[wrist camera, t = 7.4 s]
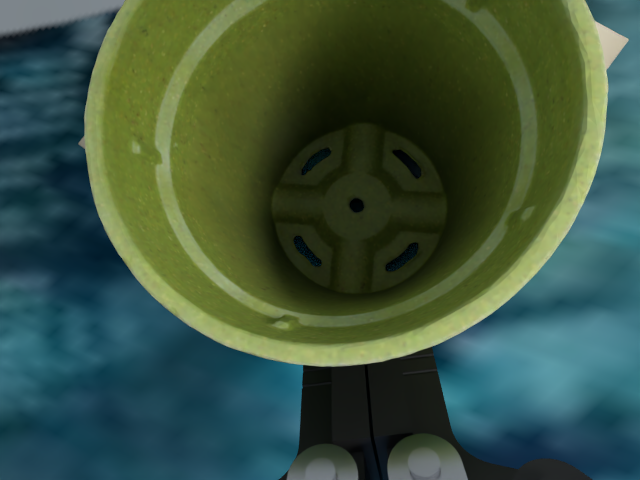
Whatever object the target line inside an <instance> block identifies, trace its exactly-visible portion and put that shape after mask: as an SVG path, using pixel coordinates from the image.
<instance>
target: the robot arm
mask: <svg viewBox="0 0 640 480" xmlns="http://www.w3.org/2000/svg"><path fill="white" fill-rule="evenodd" d="M302 385H303V388H302V401H301V421H300V441H299V450H298V454H297V457H296V459H295V460H294V461H293V463H292V465H291V466H290V469H289V470H288V471H287V473H286V474H285V475H284V476H282V477H281V478H280V479H279V480H592V479H591V478H589V477H588V476H587V475H585V474H584V473H582V472H581V471H580V470H578V469H576V468H575V467H573V466H572V465H569V464H567V463H565V462H562V461H559V460H554V459H536V460H533V461H530V462H528V463H526V464H524V465H523V466H522V467H521V468H519V470H518V469H514V468H509V467H504V466H500V465H495V464H491V463H487V462H484V461H482V460H479V459H477V458H476V457H474V456H472V455H471V454H469V453H468V452H467V451H465V450H464V449H463V448H462V447H461V446H460V444H459V443H458V442H457V440H456V439H455V437H454V435H453V432H452V429H451V426H450V422H449V417H448V413H447V409H446V405H445V401H444V396H443V392H442V388H441V384H440V380H439V375H438V372H437V367H436V363H435V359H434V355H433V350H432V347H429V348H426V349H423V350H420V351H417V352H415V353H412V354H410V355H406V356H403V357H399V358H393V359H389V360H386V361H383V362H376V363H369V364H361V365H351V366H335V367H331V366H326V367H320V366H310V365H303V381H302Z"/></svg>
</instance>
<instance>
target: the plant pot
mask: <svg viewBox="0 0 640 480" xmlns="http://www.w3.org/2000/svg"><path fill="white" fill-rule="evenodd" d="M607 93H608V79H607V73H606V67H605V60H604V54H603V49H602V45H601V41H600V37H599V33H598V30H597V27H596V24H595V21H594V18H593V16H592V14H591V12H590V10H589V8H588V6H587V4H586V1H585V0H125V1H124V4H123V6H122V7H121V9H120V10H119V12H118V13H117V15H116V17H115V19H114V21H113V23H112V25H111V26H110V28H109V29H108V31H107V34H106V36H105V38H104V40H103V43H102V45H101V48H100V50H99V53H98V56H97V60H96V63H95V66H94V69H93V72H92V76H91V81H90V85H89V90H88V98H87V102H86V107H85V116H84V122H85V153H86V158H87V165H88V173H89V180H90V185H91V190H92V194H93V198H94V202H95V205H96V209H97V212H98V215H99V217H100V219H101V221H102V224H103V226H104V229H105V231H106V233H107V235H108V237H109V239H110V241H111V242H112V244H113V246H114V247H115V249H116V251H117V253H118V254H119V256H120V257H121V258H122V259H123V261H124V262H125V263H126V265H127V266H128V268H129V269H130V271H131V272H132V274H133V275H134V276H135V277H136V279H137V280H138V281H139V282H140V284H141V285H142V286H143V287H144V288H145V289H146V290H147V291H148V292H149V293H150V294H151V295H152V296H153V297H154V298H155V299H156V300H157V301H158V302H159V303H160V304H161V305H163V306H164V307H165V308H166V309H167V310H169V311H170V312H171V313H173V314H174V315H175V316H176V317H178V318H179V319H180V320H182V321H183V322H184V323H186V324H187V325H189V326H190V327H192V328H194V329H195V330H197V331H198V332H200V333H202V334H203V335H205V336H207V337H209V338H211V339H212V340H214V341H216V342H218V343H221V344H223V345H225V346H227V347H230V348H233V349H236V350H239V351H242V352H245V353H248V354H252V355H255V356H259V357H262V358H266V359H271V360H275V361H280V362H286V363H292V364H300V365H310V366H320V367H326V366H331V367H335V366H351V365H361V364H369V363H376V362H383V361H386V360H389V359H393V358H399V357H403V356H406V355H410V354H412V353H415V352H417V351H420V350H423V349H426V348H429V347H432V346H434V345H437V344H439V343H441V342H443V341H445V340H447V339H449V338H451V337H453V336H455V335H457V334H459V333H461V332H463V331H465V330H466V329H468V328H470V327H471V326H473V325H474V324H476V323H478V322H480V321H481V320H483V319H484V318H486V317H487V316H489V315H490V314H491V313H493V312H494V311H495V310H497V309H498V308H499V307H501V306H502V305H503V304H504V303H506V302H507V301H508V300H509V299H510V298H511V297H513V296H514V295H515V294H516V293H517V292H518V291H519V290H520V289H521V288H522V287H523V286H524V285H525V284H526V283H527V282H528V281H529V280H530V279H531V278H532V277H533V276H534V275H535V274H536V273H537V272H538V271H539V270H540V269H541V267H542V266H543V265H544V264H545V263H546V261H547V260H548V259H549V258H550V257H551V256H552V254H553V253H554V251H555V250H556V248H557V247H558V246H559V244H560V243H561V241H562V240H563V239H564V237H565V236H566V234H567V233H568V231H569V229H570V228H571V226H572V224H573V222H574V221H575V219H576V217H577V214H578V212H579V210H580V208H581V206H582V205H583V203H584V200H585V197H586V195H587V193H588V191H589V189H590V186H591V184H592V181H593V178H594V176H595V173H596V169H597V165H598V162H599V159H600V155H601V150H602V145H603V139H604V133H605V124H606V110H607V101H608V100H607ZM327 148H329V149H330V150H331V154H330V155H329V156H328V157H326V158H324V159H323V160H322V161H321V162H319V163H318V164H316V165H315V166H314V167H312V169H311V170H310V171H307V172H306V174H305V175H301V174H302V169H303V167H304V165H305V164H306V162H307V161H308V160H309V159H310V158H311V157H312V156H313V155H314V154H315V153H317V152H318V151H320V150H322V149H327ZM394 150H402V151H403V152H405V153H406V154H407V155H409V156H410V157H411V158H412V159H413V160H414V161H415V162H416V163H417V164H418V166H419V167H420V168H421V176H420V177H419V178H418V179H417V178H415V177H414V175H413V174H412V173H411V172H410V170H409V169H408V168H407V166H406V165H405V164H404V163H403V162H402V161H401V160H400V159H399V158H397V157H396V156H395V155H394V154H393V153H392V152H393V151H394ZM354 198H359V199H361V200H362V201H363V203H364V209H363V210H362V211H361V212H358V213H355V212H353V211H352V209H351V208H350V202H351V201H352V200H353V199H354ZM295 236H301V237H302V239H303V241H304V242H305V243H306V245H307V246H308V248H309V249H310V250H311V251H312V252H313V254H314V255H315V256H316V257H317V258H319V259H320V260H321V261H322V263H321V266H317V267H315V266H313V265H312V264H311V263H310V261H309V260H307V258H306V257H305V256H304V255H302V254H300V253H299V252H298V250H297V248H296V246H295V244H294V238H295ZM414 242H417V243H418V251H417V254H416V256H415V257H413V258H412V259H411V260H409V261H408V262H407V263H406V264H404V265H403V266H402V267H401V268H399V269H398V270H395V271H392V272H391V271H386V269H385V267H386V264H388V263H389V262H391V261H393V260H394V259H396V258H397V257H398V256H400V255H401V254H402V253H403V252H404V251H405V250H406V249H407V248H408V246H409V245H410V244H411V243H414Z"/></svg>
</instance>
